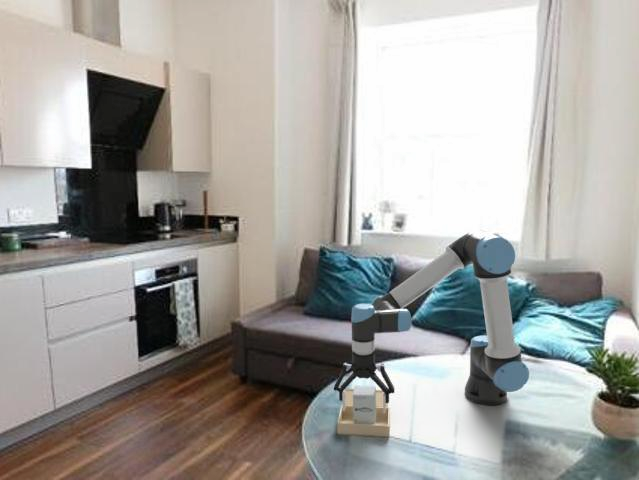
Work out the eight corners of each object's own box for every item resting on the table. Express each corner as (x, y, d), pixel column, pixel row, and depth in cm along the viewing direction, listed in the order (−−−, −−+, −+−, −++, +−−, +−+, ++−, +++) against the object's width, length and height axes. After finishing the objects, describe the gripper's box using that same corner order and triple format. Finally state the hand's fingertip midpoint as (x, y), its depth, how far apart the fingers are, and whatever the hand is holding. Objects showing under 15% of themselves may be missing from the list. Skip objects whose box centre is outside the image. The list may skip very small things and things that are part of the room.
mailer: (389, 418, 167) (389, 407, 166) (389, 437, 155) (389, 426, 155) (341, 415, 170) (341, 404, 169) (337, 434, 158) (337, 423, 157)
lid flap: (387, 406, 167) (387, 407, 167) (388, 390, 174) (388, 391, 174) (343, 404, 169) (343, 405, 170) (345, 388, 176) (345, 389, 177)
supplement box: (353, 429, 160) (351, 394, 158) (355, 418, 167) (354, 384, 165) (375, 431, 158) (374, 395, 156) (377, 419, 165) (375, 385, 163)
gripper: (401, 347, 160) (401, 406, 163) (327, 345, 164) (329, 402, 167) (401, 356, 153) (401, 418, 156) (324, 353, 157) (326, 413, 160)
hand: (364, 410), depth 162 cm, fingers open, 13 cm apart
